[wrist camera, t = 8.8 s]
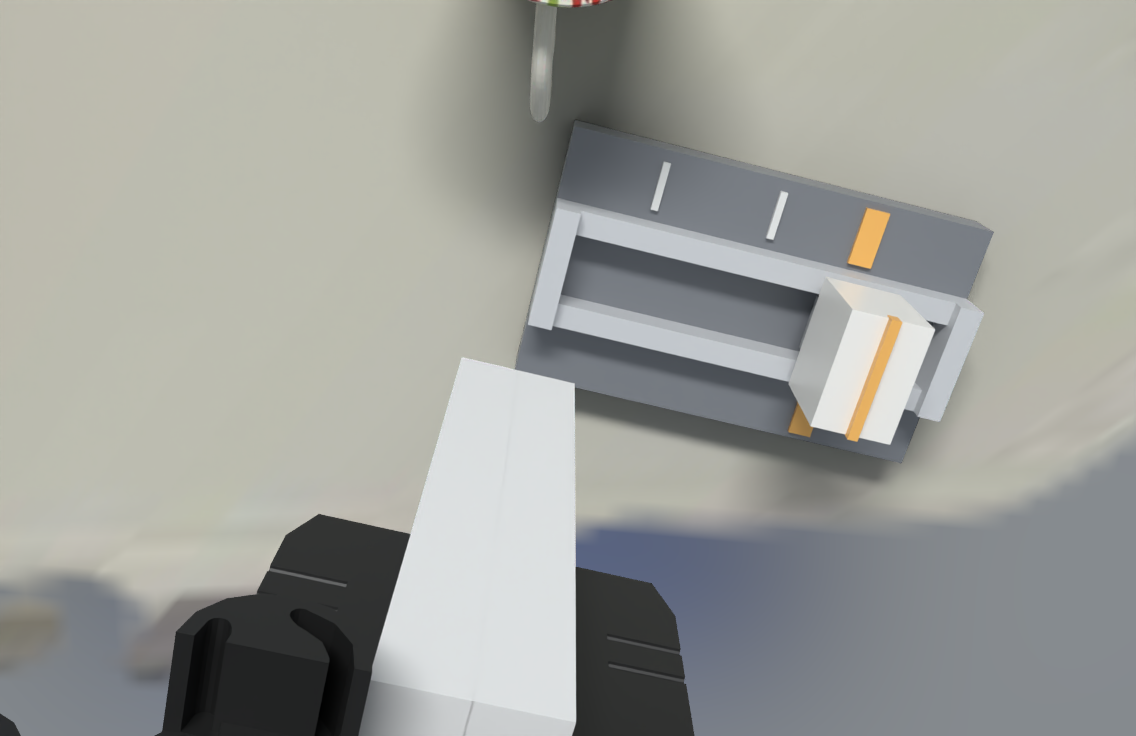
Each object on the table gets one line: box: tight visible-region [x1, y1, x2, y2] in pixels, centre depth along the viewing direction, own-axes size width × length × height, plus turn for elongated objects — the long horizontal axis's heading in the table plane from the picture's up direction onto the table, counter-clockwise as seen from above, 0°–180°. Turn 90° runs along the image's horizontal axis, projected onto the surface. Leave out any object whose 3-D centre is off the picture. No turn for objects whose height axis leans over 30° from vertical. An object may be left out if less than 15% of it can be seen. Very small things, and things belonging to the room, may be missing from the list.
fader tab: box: [788, 277, 935, 445], centre depth 42 cm, size 3×5×6 cm, turn 166°
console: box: [515, 120, 994, 463], centre depth 45 cm, size 18×11×4 cm, turn 76°
